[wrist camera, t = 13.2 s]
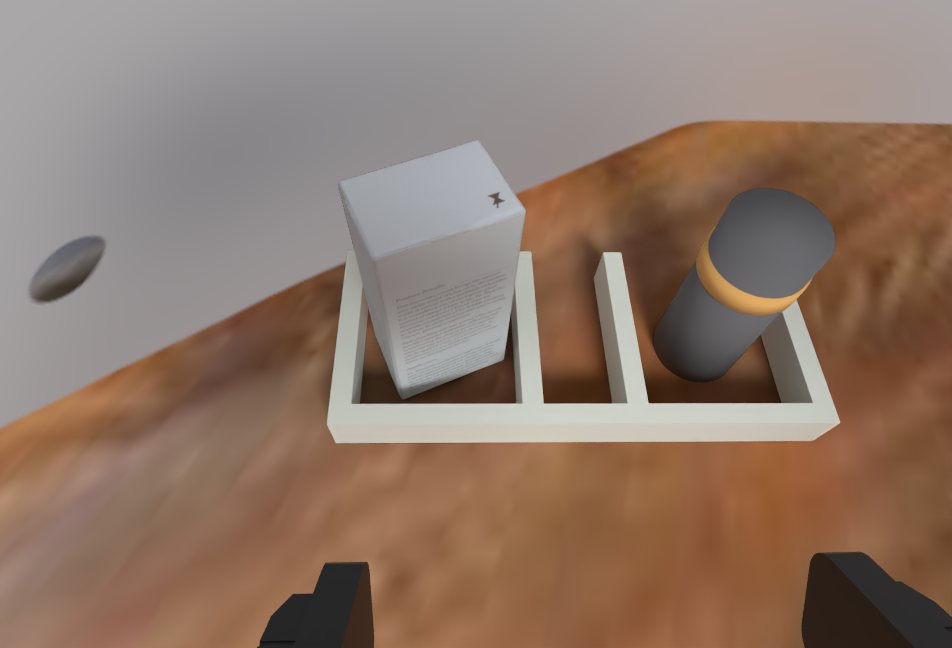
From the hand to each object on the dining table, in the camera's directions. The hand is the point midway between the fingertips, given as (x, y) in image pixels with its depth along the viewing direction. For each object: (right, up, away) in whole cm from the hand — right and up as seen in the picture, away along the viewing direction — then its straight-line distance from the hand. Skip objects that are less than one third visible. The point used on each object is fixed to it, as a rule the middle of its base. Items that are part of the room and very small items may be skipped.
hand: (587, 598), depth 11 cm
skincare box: (-4, +3, +21) cm, 22 cm away
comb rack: (+3, +4, +22) cm, 22 cm away
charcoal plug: (+10, +4, +22) cm, 24 cm away
